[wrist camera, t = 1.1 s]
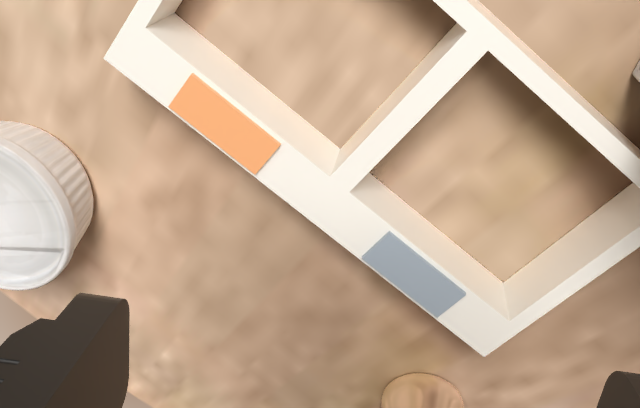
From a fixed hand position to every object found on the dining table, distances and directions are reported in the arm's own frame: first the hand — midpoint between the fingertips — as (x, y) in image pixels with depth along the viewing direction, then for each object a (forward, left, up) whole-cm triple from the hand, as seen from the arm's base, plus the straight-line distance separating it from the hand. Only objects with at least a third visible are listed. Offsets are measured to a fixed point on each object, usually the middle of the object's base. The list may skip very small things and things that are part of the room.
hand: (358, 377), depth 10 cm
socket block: (+4, +2, -27) cm, 27 cm away
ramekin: (+25, -13, -27) cm, 39 cm away
